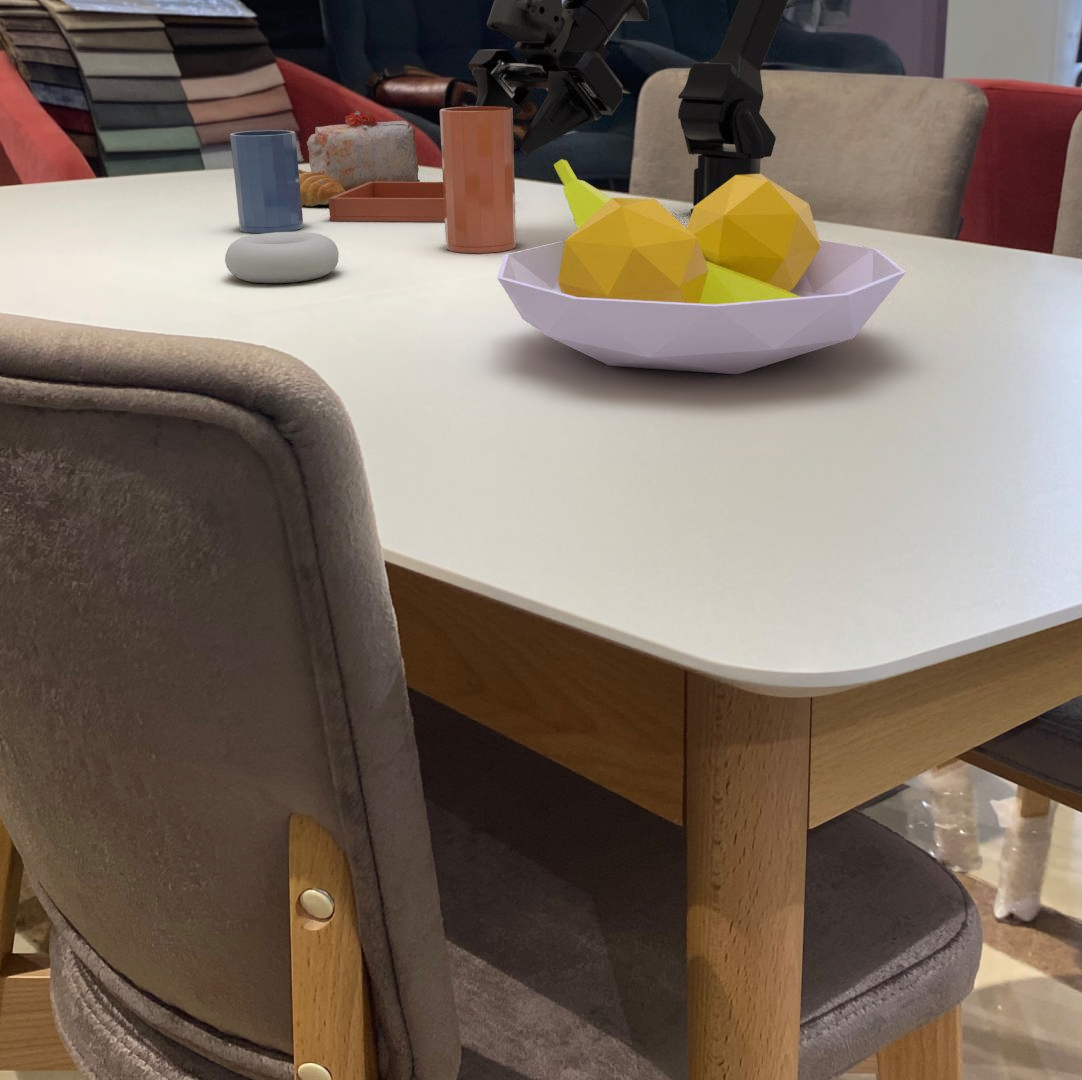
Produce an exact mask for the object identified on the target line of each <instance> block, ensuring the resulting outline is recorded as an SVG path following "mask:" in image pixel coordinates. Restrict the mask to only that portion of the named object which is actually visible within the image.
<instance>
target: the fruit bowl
mask: <svg viewBox="0 0 1082 1080" xmlns="http://www.w3.org/2000/svg"><path fill="white" fill-rule="evenodd" d="M553 167H554V170H555V172H556V173H557V175H558V177H559V179H560V181H561V183H562V184H563V188H562V189H563V193H564V197H565V199H566V202H567V205H568V208H569V210H570V212H571V215H572V218H573V220H574V223H575V226H576V228H577V229H576V230H575V231H574V232H572V234H571V235H569V236H568V237H567V238H566V239H564V240H560V241H556V242H552V243H548V244H544V245H540V246H535V247H531V248H527V249H523V250H519V251H515V252H514V251H513V252H510V253H506V254H503V257H502V261H501V263H500V268H499V270H498V273H497V274H498V275H497V280H498V282H499V284H500V285H501V287H502V288H503V290H504V291H505V293H506V294H507V297H509V299H510V301H511V302H512V304H513V306H514V307H515V309H516V311H517V313H518V314H519V316H520V317H521V319H522V320H523V321H525V322H526V323H527V324H529V325H531V327H533V328H534V329H536V330H538V331H539V332H540V333H541V334H543V335H544V336H546V337H549V338H551V339H553V340H555V341H557V342H558V343H561V344H563V345H565V346H567V347H570V348H572V349H574V350H575V351H578V352H579V353H582V354H584V355H586V356H588V357H590V358H592V359H595V360H597V361H598V362H601V363H602V364H604V365H607V366H610V367H621V368H622V367H623V368H635V369H652V370H666V371H681V372H694V373H707V374H708V373H709V374H722V375H723V374H724V375H736V376H737V375H740V374H744V373H747V372H750V371H753V370H756V369H760V368H762V367H766V366H768V365H773V364H775V363H778V362H779V363H780V362H782V361H785V360H788V359H792V358H795V357H798V356H801V355H805V354H808V353H812V352H814V351H817V350H821V349H824V348H827V347H830V346H833V345H834V346H835V345H836V344H841V343H843V342H847V341H850V340H853V339H854V338H855V337H856V336H857V334H859V332H860V331H861V330H862V329H863V327H864V326H865V325H866V323H867V322H868V321H869V319H870V318H871V317H872V316H873V315H874V314H875V312H876V311H877V310H878V308H879V307H880V306H881V304H882V303H883V302H884V301H885V300H886V298H887V297H888V296H889V294H890V293H891V292H892V291H893V289H895V287H896V286H897V285H898V284H899V282H900V281H901V280H902V278H903V277H904V276H905V275H906V273H907V271H906V270H904V269H903V268H902V267H901V266H899V265H898V264H897V263H896V262H895V261H893V260H892V259H891V258H890V257H888V256H887V255H886V254H885V253H883V252H882V251H881V250H880V249H878V248H873V247H867V246H863V245H862V246H861V245H856V244H849V243H843V242H837V241H831V240H827V239H821V238H819V235H818V231H817V228H816V224H815V220H814V216H813V213H812V210H811V206H810V203H808V202H807V201H805V200H804V199H802V198H801V197H799V196H797V195H795V194H794V193H792V192H790V191H789V190H787V189H786V188H784V187H783V186H781V185H780V184H778V183H776V182H774V181H773V180H772V179H770V178H768V177H767V176H765V175H763V174H762V173H760V174H745V175H735V176H734V177H732V178H731V179H730V180H728V181H727V182H726V183H724V184H723V185H722V186H720V187H719V188H718V189H716V190H715V191H714V192H713V193H711V194H710V195H709V196H707V197H706V198H705V199H703V200H702V201H701V202H699V203H698V204H697V205H695V206H694V205H693V208H694V209H693V212H692V213H691V215H690V217H689V220H688V224H687V227H686V226H684V224H682V222H681V221H679V220H678V219H677V218H676V217H675V216H674V215H673V214H672V213H671V212H670V211H668V210H667V209H666V208H665V206H663V204H662V203H660V202H659V201H658V200H657V199H655V198H635V197H634V198H633V197H611V196H609V195H607V194H606V193H605V192H603V191H601V190H600V189H597V188H596V187H595V186H593V185H591V184H590V183H588V182H587V181H585V180H582V179H578V177H577V176H576V174H575V173H574V171H573V169H572V167H571V165H570V163H569V162H568V160H567V159H561V158H560V159H559V160H558V161H557V162H555V163H553Z"/></svg>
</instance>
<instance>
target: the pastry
mask: <svg viewBox="0 0 1082 1080" xmlns="http://www.w3.org/2000/svg"><path fill="white" fill-rule="evenodd" d="M299 181H300V192H301V204H302V207H303V206H305V207H314V206H318V205H323V206H327V205H329V200H328V199H329V198H331V197H333V196H336V195H338V194H341V193H343V192H345V189H344V188H343V186H342V184H341V183H339V182H338V181H337V180H336V179H333V178H331V177H330V176H329V175H328V174H323V173H321V172H311V171H307V170H302V169H299Z"/></svg>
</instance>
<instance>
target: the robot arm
mask: <svg viewBox="0 0 1082 1080" xmlns="http://www.w3.org/2000/svg"><path fill="white" fill-rule="evenodd" d="M788 2H789V0H738V3H737V5H736V7H735V10H734V12H733V14H732V17H731V20H730V22H729V25H728V28H727V30H726V33H725V35H724V38H723V40H722V43H721V44H720V47H719V50H718V52H717V53H716V55H715V56H714V58H712V59H711V60H710V61H709V62H694V63H693V64H692V66H691V67H690V69H689V72H688V76H687V79H686V81H685V82H686V83H685V85H684V87H683V89H682V90H681V92H680V93H679V94H678V96H677V98H678V99H679V100H680V104H679V108H678V111H677V113H678V114H677V118H678V120H679V121H680V127H681V129H682V132H683V136H684V140H685V145H686V148H687V153H688V154H689V155H691V156H692V155H693V156H694V155H697V167H696V168H694V170H693V188H692V189H693V190H692V205H693V207H692V208H690V214H692V212H693V209H694V206H695V205H697V204H698V203H699V202H701V201H702V200H703V199H705V198H706V197H707V196H709V195H710V194H711V193H713V192H714V191H715V190H716V189H718V188H719V187H720V186H722V185H723V184H724V183H726V182H727V181H728V180H730V179H731V178H732V177H734V176H735V175H745V174H761V160H762V159H764V158H770V157H772V154H773V151H774V148H775V143H776V139H777V137H776V135H775V134H774V132H773V131H772V129H771V127H770V126H769V125H768V123H767V122H766V120H765V119H764V118H763V116H762V115H761V113H760V112H761V108H762V104H763V101H764V89H763V82H762V75H761V71H762V67H763V64H764V62H765V59H766V57H767V54H768V52H769V49H770V47H771V45H772V43H773V40H774V37H775V34H776V31H777V29H778V26H779V24H780V22H781V19H782V17H783V14H784V11H785V9H786V7H787V5H788ZM649 18H650V13H649V6H648V4H647V0H493V4H492V7H491V10H490V13H489V16H488V18H487V22H486V26H487V27H488V28H489V29H490V30H492V31H498V32H500V33H502V34H504V35H505V36H506V37H509V38H511V40H514V41H516V44H515V45H514V46H513V48H514V50H515V51H516V52H517V53H518V55H519V56H520V57H523V58H524V59H525V61H524V63H519V61H517V59H516V58H515V57H514V55H512V53H511V52H510V50H509V49H478V50H477V51H476V53H475V54H474V55H473V57H472V58H471V60H470V61H469V63H468V69H469V70H470V71H471V72H472V73H471V74H472V78H473V79H474V80H475V81H476V83H477V88H478V94H477V99H476V103H475V107H476V106H498V107H510V108H513V119H515V118H516V117H517V116H519V115H520V114H521V113H522V112H523V110H522V109H521V108H522V107H523V106H526V104H528V103H529V102H530V101H531V99H532V97H533V96H534V94H535V93H534V89H545V90H546V91H547V94H546V98H545V99H544V101H543V102H542V104H541V106H540V107H539V110H538V111H537V113H536V115H535V116H534V118H533V120H532V122H531V123H530V125H529V127H528V128H527V130H526V132H525V133H524V135H523V137H522V140H521V141H520V144H519V146H518V147H519V149H520V150H521V152H522V153H523V154H524V155H529V154H531V153H533V152H535V151H536V150H538V149H540V148H542V147H544V146H545V145H547V144H549V143H551V142H553V141H556V139H559V138H560V137H561V138H562V137H563V136H564V135H566V134H568V133H570V132H572V131H575V130H577V129H579V128H580V127H582V126H585V125H587V124H589V123H591V122H593V121H599V120H600V119H601V118H602V117H603V116H602V115H604V116H605V115H608V116H613V114H614V113H615V111H616V110H617V109H618V108H619V106H620V104H621V103H622V102H623V95H624V94H623V92H624V91H623V90H624V85H623V84H622V83H621V81H620V80H619V79H618V77H617V75H615V73H614V72H613V70H612V69H611V68H610V66H609V65H608V64H607V62H606V60H607V58H608V56H610V54H611V52H610V51H609V49H608V48H607V46H606V45H607V44H608V42H609V41H610V39H611V37H612V36H613V35H614V34H615V32H616V31H617V29H618V28H619V26H620V25H621V23H622V22H623V21H624V22H647V21H648V20H649ZM730 145H731V146H730Z"/></svg>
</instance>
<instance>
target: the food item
mask: <svg viewBox="0 0 1082 1080" xmlns="http://www.w3.org/2000/svg"><path fill="white" fill-rule="evenodd" d="M344 118H345V119H344V123H342V124H330V125H324V126H316V127H315V129H314V130H315V131H314V132H315V133H313V134H311V135H310V136H309V137H308V139H307V141H306V146H307V151H308V158H309V159H308V162H309V167H310V172H321V173H323V174H328V175H329V176H330V177H331V178H333V179H336V180H337V181H338V182H339V183H341V184H342V186H343V188H344V189H345V191H348V190H350V189H353V188H355V187H358V186H360V185H363V184H365V183H368V182H421V179H419V163H418V162H419V161H418V155H417V142H416V138H415V137H416V136H415V135H416V129H415V127H414V126H412V125H411V124H409V122H408V121H407V120H394V121H377V120H376V119H377V118H376V116H374V115H373V114H372V113H370V112H369V111H367V112H366V113H361V112H360V111H358V110H356V111H355V112H350V114H347V115H346V116H344Z"/></svg>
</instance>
